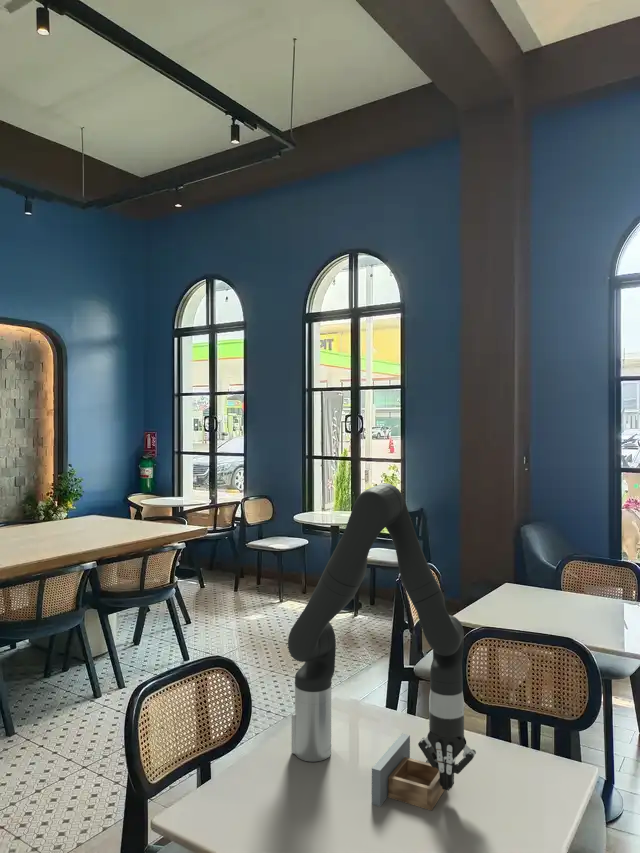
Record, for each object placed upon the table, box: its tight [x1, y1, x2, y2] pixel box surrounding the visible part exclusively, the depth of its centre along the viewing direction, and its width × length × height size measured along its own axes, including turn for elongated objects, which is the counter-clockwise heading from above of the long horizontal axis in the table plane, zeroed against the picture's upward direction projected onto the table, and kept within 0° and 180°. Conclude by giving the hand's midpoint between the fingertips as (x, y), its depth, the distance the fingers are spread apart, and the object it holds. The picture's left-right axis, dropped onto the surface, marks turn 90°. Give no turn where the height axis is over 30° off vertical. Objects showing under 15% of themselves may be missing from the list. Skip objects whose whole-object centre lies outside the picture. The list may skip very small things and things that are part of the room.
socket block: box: [387, 757, 445, 811], centre depth 145 cm, size 10×10×4 cm
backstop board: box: [371, 732, 411, 807], centre depth 148 cm, size 2×18×8 cm, turn 151°
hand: (447, 788), depth 141 cm, fingers closed
